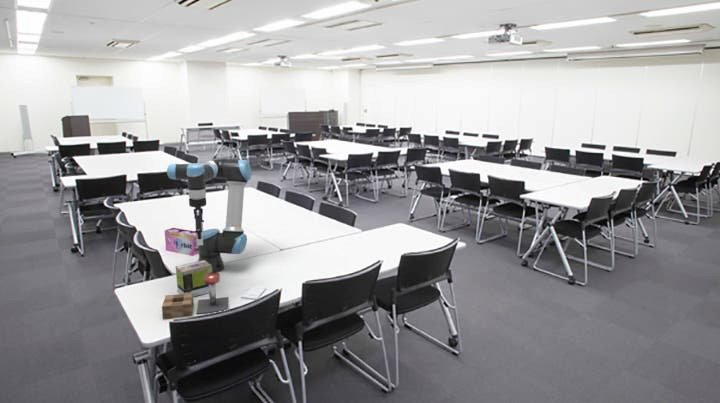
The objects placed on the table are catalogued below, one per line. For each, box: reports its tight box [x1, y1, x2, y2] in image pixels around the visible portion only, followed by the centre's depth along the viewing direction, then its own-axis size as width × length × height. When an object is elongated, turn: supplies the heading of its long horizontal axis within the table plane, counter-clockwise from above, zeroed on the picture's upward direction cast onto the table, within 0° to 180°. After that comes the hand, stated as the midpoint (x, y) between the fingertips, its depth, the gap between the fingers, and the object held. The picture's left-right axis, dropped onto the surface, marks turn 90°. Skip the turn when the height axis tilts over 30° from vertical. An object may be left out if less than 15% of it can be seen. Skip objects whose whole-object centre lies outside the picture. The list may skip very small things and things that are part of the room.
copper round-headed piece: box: [204, 272, 221, 306], centre depth 201 cm, size 7×7×15 cm
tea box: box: [175, 260, 212, 298], centre depth 215 cm, size 15×10×15 cm, turn 131°
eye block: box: [161, 293, 195, 320], centre depth 195 cm, size 12×12×6 cm
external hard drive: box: [240, 286, 267, 301], centre depth 217 cm, size 2×8×12 cm
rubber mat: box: [195, 296, 230, 316], centre depth 202 cm, size 14×14×1 cm
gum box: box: [164, 227, 199, 256], centre depth 273 cm, size 24×8×14 cm, turn 69°
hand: (200, 240), depth 203 cm, fingers open, 13 cm apart
